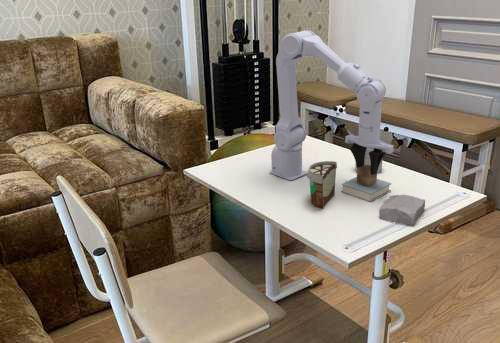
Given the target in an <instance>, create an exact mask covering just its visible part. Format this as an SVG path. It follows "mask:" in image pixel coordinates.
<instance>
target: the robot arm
mask: <svg viewBox="0 0 500 343" xmlns="http://www.w3.org/2000/svg"><path fill="white" fill-rule="evenodd" d="M303 57H314V58H316V59H318V60H319V61H320V62H322V63H324V64H325V65H326V66H327V67H328V68H330V69H332V70H333V71H334V72H336V73H337V74H336V75H337V79H338V81H340V83H342V84H343V85H345V86H346V87H347V88H348V89H349V90H350V91H352V92H353V93H355V95H356V99H357V102H358V103H359V115H358V116H359V118H358V135H352V134H348V135H346V136H345V140H344V143H346V144H351V145H352V146H350V147H349V150H350V152H351V154H352V156H353V158H354V161H355V162H354V163H356V166H357V168H358V167H361V166H363V165H364V160H365V153H366V149H367V147H368V148H371V149H374V151H370V152H369V156H370V161H371V168H370V171H371V175H374V174H376V173H377V171H378V167H379V165H380V162H381V160H382V158H383V159H384V156H385V155H386V154H387V155H390V154H393V153H394V146H395V145H393V144H390V143H388V142H385V141H384V140H381V138H380V137H381V125H382V124H381V122H382V106H383V105H382V104H383V98H384V97H385V95H386V94H387V88H386V85H385V84H384V83H383V82H382V80H380V79H378V78H377V79H374V78H373V76H372V75H368V74H367V73H366V72H365V71H363V70H362V69H361V68H360V67H361V66H360V65H359V64H358V63H357V62H355V63H353V62H345V61H344V60H343V59H342V58H341V57H340V56H339V55H337V53H336V52H334V50H332V49H331V48H330V47H329V46H328V45H327V44H326V43H325V42H324V41H323V40H322V39H321V37H320V36H319V35H317V34H316V33H314V32H313V31H312V30H310V29H304V30H301V31H297V32H293V33H292V32H290V33H286V35H284V37H283V38H282V39H280V40H279V49H278V53H277V55H276V59H275V66H276V76H277V77H276V78H277V89H278V90H277V91H278V92H277V93H278V103H279V104H278V105H279V106H278V107H279V120H278V121H277V124H276V125H275V133H274V136H273V142H274V144H275V146H274V147H273V148H272V151H271V154H270V155H271V156H270V157H271V170H270V171H269V173H270V174H271V175H274V176H278V177H280V178H283V179H285V180H288V181H294V180H296V179H299V178H301V177H304V176H305V175H306V176H307V172H308V171H306V170H303V142H304V141H305V140H306V138H307V130H306V129H305V127H304V121H303V119H302V118H301V117H300V116H299V105H298V104H299V103H298V92H297V91H298V90H297V89H298V88H297V76H296V75H297V74H296V73H297V72H296V64H297V63H298V62H299V61H300V60H301V59H302V58H303ZM382 161H383V160H382ZM377 174H378V173H377Z"/></svg>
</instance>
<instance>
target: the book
mask: <svg viewBox="0 0 500 343" xmlns="http://www.w3.org/2000/svg"><path fill="white" fill-rule="evenodd" d="M391 185H392V182H389V181H385V180H383V179H382V180H381V179H379V178H377V182H376V183H374V184H372V185H370V186H366V185H362V184H359V183H357V176H356V177H354V178H352V179H349V180H348V181H345V182H343V183H341V186H342V190H341V193H343V194H346V195H349V196H352V197H355V198H357V199H361V200H363V201H367V202H369V203H371V202H373V201H375V200H378V199H379V198H381V197H383V196H385V195H387V194H388V193H391V192H392V190H391V189H390V186H391Z"/></svg>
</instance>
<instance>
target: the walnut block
mask: <svg viewBox="0 0 500 343" xmlns="http://www.w3.org/2000/svg"><path fill="white" fill-rule="evenodd" d="M370 168H371V166H370V165H367V164H365V165H363V166H361V167H358V168H357V172H356V177H357V183H359V184H362V185H366V186H370V185H372V184H374V183H376V182H377V179H378V173H376V174H374V175H371V171H370Z"/></svg>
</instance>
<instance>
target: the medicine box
mask: <svg viewBox="0 0 500 343" xmlns="http://www.w3.org/2000/svg"><path fill="white" fill-rule="evenodd" d="M370 151H374V149H371V148H368V147H367V149H366V153H365V160H364V165H365V164H367V165H370V166H371V161H370V156H369V152H370ZM383 159H384V157H383V158H382V160H381V162H380V165H379V167H378V171H377V174H378V173H379V174H380V173H382V172H383ZM354 163H355V171H356V173H357V166H356V162H354Z"/></svg>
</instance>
